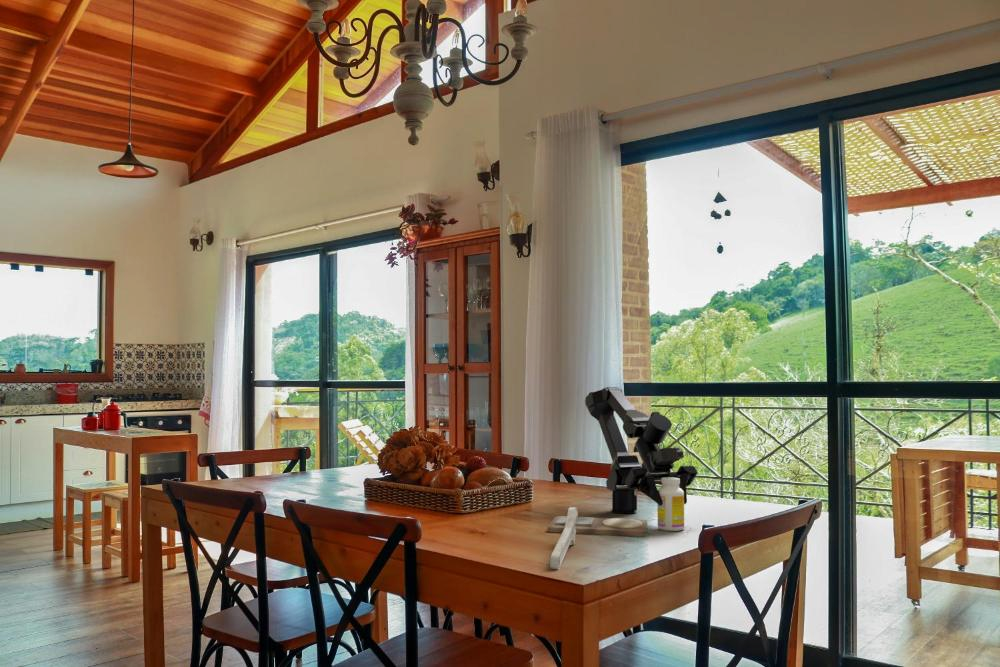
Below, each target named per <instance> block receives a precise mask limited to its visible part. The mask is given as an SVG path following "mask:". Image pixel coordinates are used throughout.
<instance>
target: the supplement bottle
mask: <svg viewBox="0 0 1000 667" xmlns="http://www.w3.org/2000/svg"><path fill="white" fill-rule="evenodd" d="M660 483H661V487H660V488H659V489H657V490H658V492H659V494H660V496H661V499H662V502H663V504H662V506H660V505H659V504H657V528H658V529H660V531H668V532H681V531H683V530H684V529H685V504H684V491H683V490H682V489H681V488H679V484H680V479H679V478H674V477H664V478H661V481H660Z"/></svg>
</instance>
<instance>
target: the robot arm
mask: <svg viewBox="0 0 1000 667" xmlns="http://www.w3.org/2000/svg"><path fill="white" fill-rule="evenodd" d="M584 403H585V407H586V409H587V410H588V412H589V414H590V416H591V417H593V418H594V419H596V420H597V422H598V423H599V424H598V425H599V426H600V430H601V433H602V435H603V438H604V441H605V443H606V446H607V449H608V452H609V454H610V458H611V460H612V462H611V464H610V468H609V472H610V473H609V475H608V477H607V479H606V481H605V485H606V489H607V490H609V491H611V492H612V494H611V495H612V496H611V497H612V498H611V500H612V501H611V502H612V503H611V506H612V507H611V508H612V509H611V513H612V514H614V513H616V514H635V513H636V511H637V510H638V494H636V491H637V492H641V493H642V494H643V495H645V496H647V497H648V498H650V499H651V500H652V501H654V502H655V503H656V504H657V505H658V504H659V505H660V506H662V504H663V502H662V499H661V496H660V494H659V492H658V490H659V489H658V488H657V485H656V482H661V478H664V477H674V478H679V479H680V484H679V488H681V489H682V490H683V491H684V505H687V503H688V499H687V498H688V496H687V487H688V486H690V485H691V484H693V481H694V480H695V478H696V477H697V475H698V470H697V468H696V467H695V465H680V466H679V468H678V469H677V471H672V469H673V468H674V466H675V465H674V463H676V462H677V461H680V460H681V459H682V458H684V457H685V456H684V451H683V449H682V446H680V445H676V446H675V445H674V446H673V447H663V448H661V447H660V444H661V443H664V441H665V439H666V437H667V435H668V433H669V432H670V430H671V428H672V425H673V424H672V421H671V420H670V419H669V418H668V417H667V416H666V415H662V414H661V413H660V411H652V412H651V414H650V415H647V414H646V413H643V412H641V411H638V410H637V409H636V408H635V407H634V406H633V404H632V403H631V401H630V400H629V399H628V398H627V397H626V396H625V394H624V393H623V390H622V388H621V387H618V386H611V387H610V386H607V387H603V388H602V389H599V390H596V391H590V392H589V393H588V394H587V395H586V396H585V399H584ZM614 413H616V414H617V416H618V417H619V418H620V419H621V421H622V423H623V424H622V430H623V431H624V434H625V435H626V436H627V437H628V439H636V442H634V446H633V453H638V455H639V457H640V459H641V461H642V462H641V464H640V462H639V458H638V456H637V455H635V454H629V452H628V449H627V447H626V443H625V441H624V438H623V435H622V433H621V430H620V428H619V425H618V422H617V420H616V417H615V415H614Z"/></svg>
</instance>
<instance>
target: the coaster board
mask: <svg viewBox="0 0 1000 667" xmlns="http://www.w3.org/2000/svg"><path fill="white" fill-rule="evenodd" d="M566 520H567V515H565V516H563V515H560V516H559V515H557V516H555V517H554V518H553V520H552V521H551V522H550V524H549V525H548V527H547V533H557V534H558V533H561V534H562V532H563V530H564V528H565V524H566ZM647 528H648V519H633V518H619V517H617V518H612V517H611V518H609V517H608V518H604V517H589V516H587V517H586V516H585V517H583V516H576V522H575V529H576V534H584V535H585V534H586V535H603V536H604V535H607V536H624V537H625V536H626V537H627V536H628V537H647V531H648V529H647Z"/></svg>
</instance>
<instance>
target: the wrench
mask: <svg viewBox="0 0 1000 667" xmlns="http://www.w3.org/2000/svg"><path fill="white" fill-rule="evenodd" d="M578 513H579V511H578V508H577V507H572V506H569V508H568V509H567V514H566V516H567V520H566V524H565V528H564V530H563V532H562V533H561V535H560V537H559V539H558V541H557V543H556V545H555V546H554V549H553V551H552V553H551V555H550V559H549V560H550V561H549V562H550V563H549V564H550V565H549V568H550V569H551V570H559V569H560V568H561V567H562V564H563V561H564V558H565V556H566V554H567V552H568V549H569V547H570V545H572V546H574V545H576V543H575V542H576V534H577V533H576V529H575V522H576V517H579V514H578ZM558 567H560V568H558Z"/></svg>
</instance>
